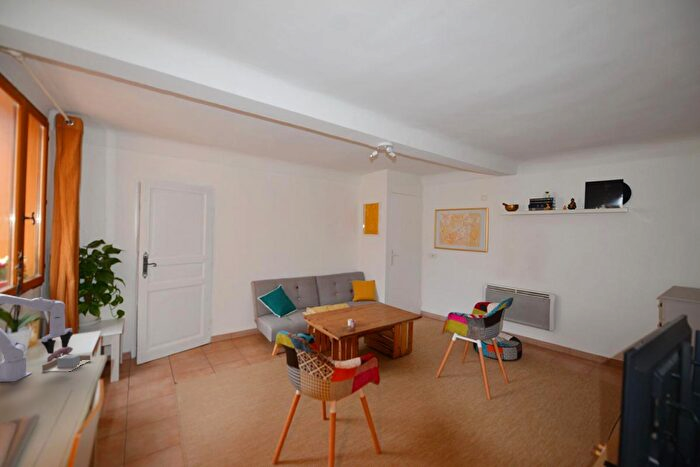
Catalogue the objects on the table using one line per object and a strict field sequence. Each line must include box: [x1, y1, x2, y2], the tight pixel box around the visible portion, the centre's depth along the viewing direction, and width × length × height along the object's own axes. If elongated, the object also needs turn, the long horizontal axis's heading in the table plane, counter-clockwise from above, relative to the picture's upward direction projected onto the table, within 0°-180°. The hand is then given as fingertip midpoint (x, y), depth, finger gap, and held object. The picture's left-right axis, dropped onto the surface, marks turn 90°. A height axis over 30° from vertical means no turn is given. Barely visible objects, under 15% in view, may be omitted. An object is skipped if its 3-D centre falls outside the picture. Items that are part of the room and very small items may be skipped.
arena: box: [41, 354, 91, 373], centre depth 158 cm, size 14×12×4 cm
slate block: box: [57, 354, 81, 368], centre depth 157 cm, size 4×8×5 cm, turn 91°
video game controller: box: [46, 345, 74, 362], centre depth 168 cm, size 10×5×7 cm, turn 169°
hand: (57, 350), depth 155 cm, fingers open, 7 cm apart
